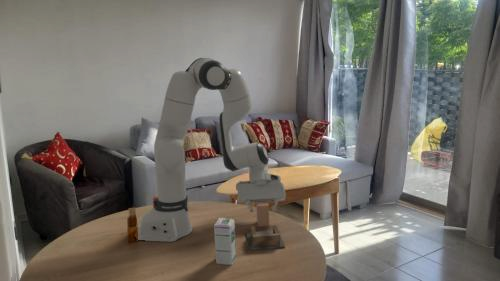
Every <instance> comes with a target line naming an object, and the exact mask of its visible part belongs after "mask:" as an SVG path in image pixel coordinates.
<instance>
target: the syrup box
mask: <svg viewBox="0 0 500 281" xmlns="http://www.w3.org/2000/svg"><path fill="white" fill-rule="evenodd" d="M216 220H217V221H216V222H215V223H214V225H213V230H214V247H215V248H214V250H215V261H216V262H215V263H216V264H217V265H227V266H233V264H234V262H235V260H236V257H237V248H236V247H237V243H236V242H237V241H236V225H235V219H234V218H230V217H218V219H216Z"/></svg>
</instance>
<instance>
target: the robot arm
mask: <svg viewBox="0 0 500 281" xmlns="http://www.w3.org/2000/svg"><path fill="white" fill-rule="evenodd" d="M166 88H167V89H166V92H165V95H164V96H165V97H164V101H163V106H162V108H161V114H160V118H159V122H158V123H159V124H158V128H157V132H156V136H155V141H154V144H153V146H154V147H153V149H154V150H153V152H154V153H153V154H154V155H153V158H154V166H155V177H156V192H157V195H154V196H153V198H152V206H153V207H152V208H151V209H150V210H148V211H147V212H145V213H144V214H143V216H142V217H141V219H140V223H139V226H137V227H138V234H139V236H138V240H145V241H146V242H165V243H166V242H171V243H172V242H176V241H177V240H178V239H180V238H183V237H185V236H188V235H190V234H191V232H192V231H193V226H192V223H191V220H190V217H189V199H188V195H187V185H186V182H187V181H186V151H185V149H184V145H185V140H186V135H187V134H188V133H187V132H188V130H189V127H190V124H191V120H192V116H193V111H194V106H195V101H196V97H197V95H198V92H199V91H200V90H201V89H202V88H204V89H206V90H210V91H217V90H218V91H219V93H220V96H221V99H222V103H223V110H222V112H221V113H220V114H219V118H218V119H219V130H220V131H219V132H220V140H221V146H222V161H223V164H224V168H226V169H227V170H229V171H231V172H237V171H239V170H243V169H247V168H248V169H249V173H248V177H249V178H248V179H249V180H244V181H243V180H242V181H238V182H237V183H236V184H235V189H236V191H237V199H236V200H237V202H238V203H241V204H242V203H245V205H246V207H247V208H248V209H249V210H248V211H249V213H253V212H254V206H251V203H257V202H261V201H267V202H273V203H274V205H271V209H272V210H271V211H272V212H273V211H277V205H278V202H281V201H282V202H283V201H285V199H286V196H287V195H286V194H287V193H286V189H285V186H284V184H283V182H282V181H281V175H278V174H274V173H273V174H272V173H270V171H269V153H268V149H267V147H266V146H265V145H263V143H260V142H251V143H247V144H244V145H243V144H242V145H239V146H234V145H233V139H232V137H233V136H232V127H233V126H234V125H235V124H237V123H238V122H240V121H241V120H243V119H244V118H245V117H246V116H247V115H248V114H249V113H250V111H251V109H252V105H253V104H252V99H251V94H250V90H249V87H248V85H247V82H246V80H245V78H244V76H243V74H242V72H241V71H240V70H239V69H234V68H230V69H228V68H227V67H226V66H225V65H224V64H223V63H222V62H220V61H217V60H215V59H213V58H209V57H208V58H207V57H200V58H197V59H195V60H194V61H193V62H192V63H190V65H189V66H188V68H187V69H185V70H179V71H175V72H174V73H173V74H172V76H171V77H170V80H169V83H168V85H167V87H166ZM138 240H137V241H138ZM145 241H144V242H145Z"/></svg>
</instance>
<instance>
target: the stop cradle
mask: <svg viewBox="0 0 500 281" xmlns="http://www.w3.org/2000/svg"><path fill="white" fill-rule="evenodd" d="M256 230H257V229H256V226H253V225H252V226H250V231H248V232H247V231H246V234H245V235H246V239H247V243H248V250H249V251H255V250H256V251H257V250H270V249H271V250H273V249H285V248H286V245H285V243H284V240H283V236H282V234H281V231H280V230H279V227H278V225H277V224H272V230H263V231H261V230H260V231H256Z"/></svg>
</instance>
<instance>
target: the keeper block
mask: <svg viewBox="0 0 500 281" xmlns="http://www.w3.org/2000/svg"><path fill="white" fill-rule="evenodd" d="M256 223H257V227H269V226H270V204H269V201H261V202H256Z"/></svg>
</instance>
